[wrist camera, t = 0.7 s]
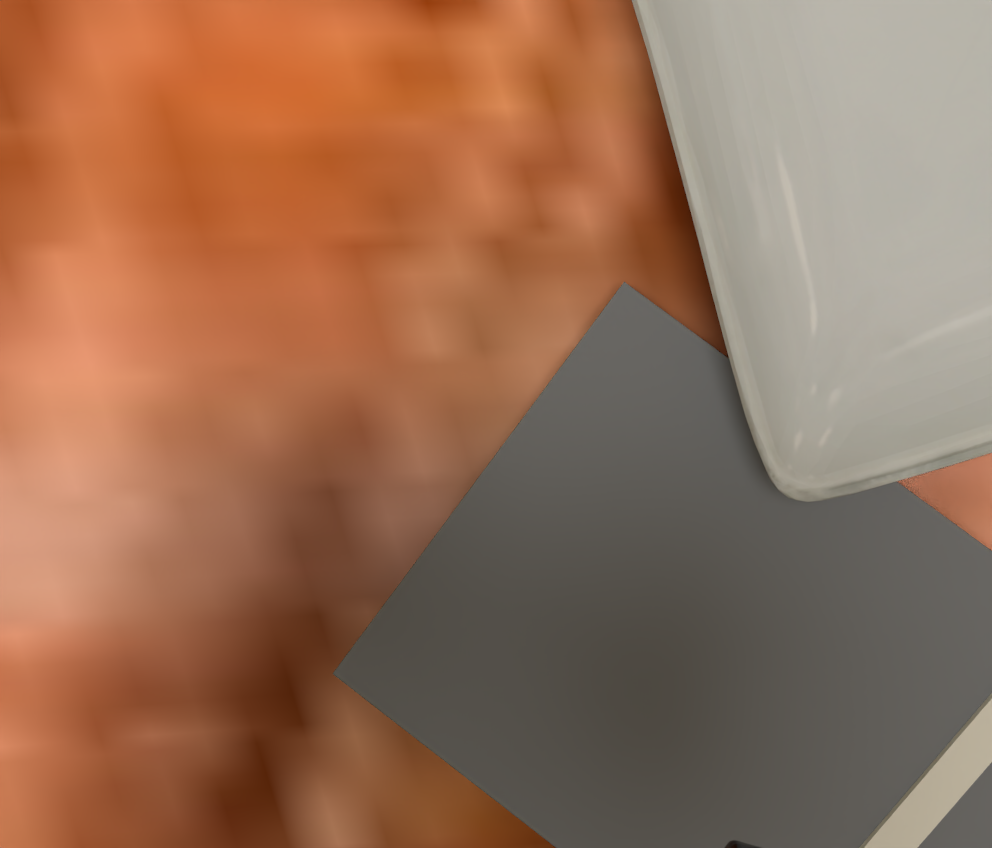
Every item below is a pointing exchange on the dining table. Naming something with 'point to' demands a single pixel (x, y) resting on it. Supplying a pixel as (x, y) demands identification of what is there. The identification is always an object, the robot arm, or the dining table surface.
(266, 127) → the dining table surface
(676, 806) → the charcoal board
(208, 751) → the dining table surface
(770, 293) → the square plate
